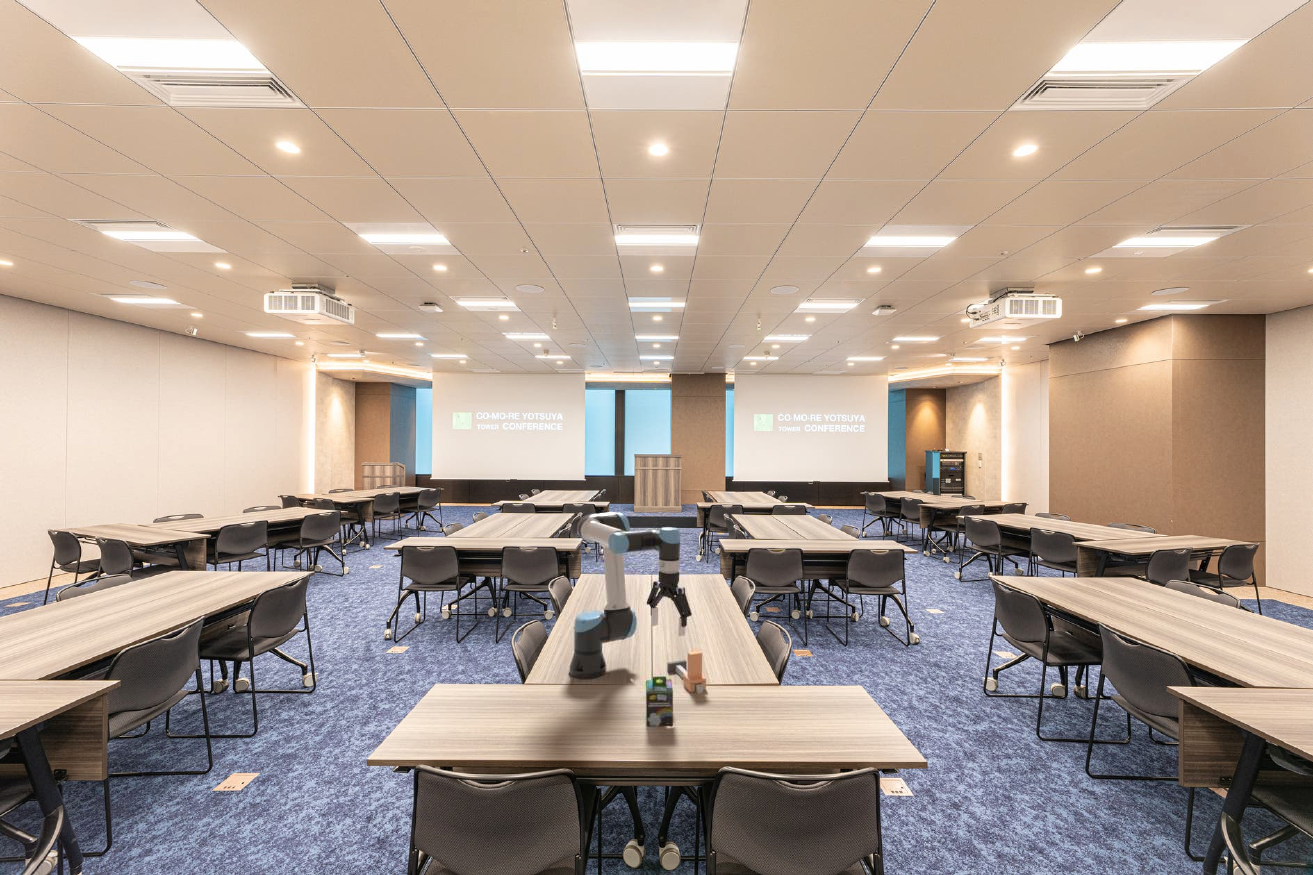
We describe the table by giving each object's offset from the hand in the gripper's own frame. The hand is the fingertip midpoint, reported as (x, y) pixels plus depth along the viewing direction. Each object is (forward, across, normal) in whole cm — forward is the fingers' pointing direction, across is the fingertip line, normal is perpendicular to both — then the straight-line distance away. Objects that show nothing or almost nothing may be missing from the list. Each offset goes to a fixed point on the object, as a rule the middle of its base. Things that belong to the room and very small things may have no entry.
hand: (667, 630), depth 178 cm
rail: (+27, -6, +18) cm, 33 cm away
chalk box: (+27, +5, -9) cm, 29 cm away
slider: (+26, 0, +16) cm, 30 cm away
